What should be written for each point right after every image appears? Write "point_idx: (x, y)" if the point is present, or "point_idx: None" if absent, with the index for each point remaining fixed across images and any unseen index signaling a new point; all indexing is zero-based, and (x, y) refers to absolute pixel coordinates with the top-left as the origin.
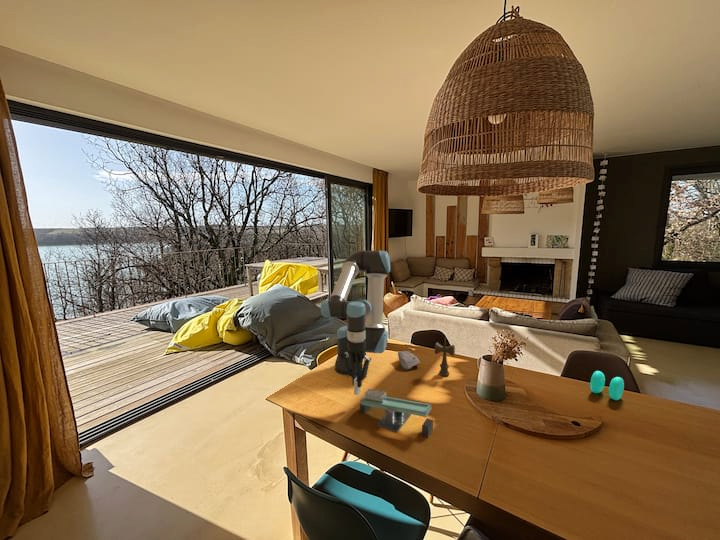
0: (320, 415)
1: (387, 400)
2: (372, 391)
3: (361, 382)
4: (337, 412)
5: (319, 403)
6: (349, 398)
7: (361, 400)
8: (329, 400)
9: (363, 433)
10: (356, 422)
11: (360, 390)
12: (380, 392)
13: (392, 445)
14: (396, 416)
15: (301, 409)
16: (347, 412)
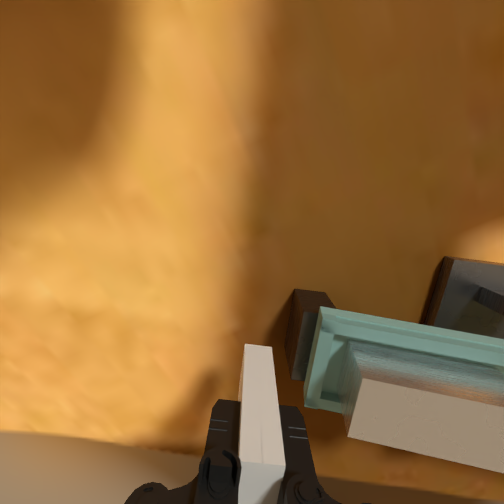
0: (128, 432)
1: (498, 369)
2: (409, 413)
3: (308, 452)
4: (185, 388)
5: (58, 363)
6: (173, 261)
7: (311, 405)
8: (85, 322)
9: (355, 455)
10: (301, 413)
11: (272, 355)
12: (496, 426)
13: (482, 468)
14: (486, 331)
15: (21, 430)
16: (228, 370)
